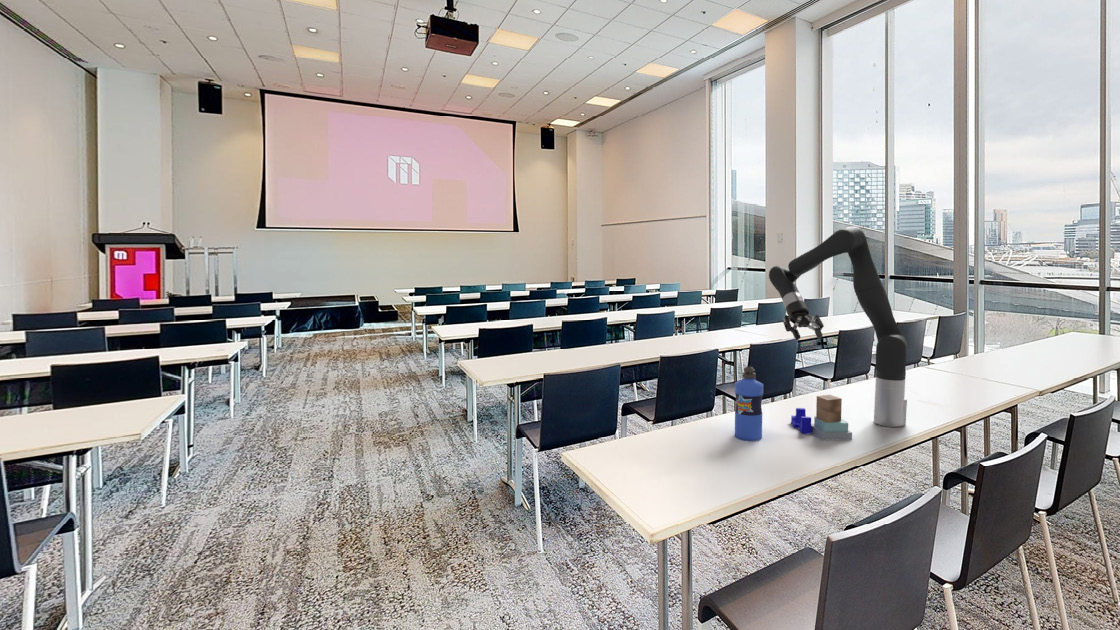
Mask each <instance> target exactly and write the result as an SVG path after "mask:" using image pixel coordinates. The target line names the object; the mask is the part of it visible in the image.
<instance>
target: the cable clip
mask: <svg viewBox="0 0 1120 630" xmlns="http://www.w3.org/2000/svg"><path fill="white" fill-rule="evenodd" d="M806 415H807V414H806V408H805V407H804V408H803V407H795V415H791V419H790V423H791V425H792V426H793V428H794V429H798V430H799V431H800V434H801V435H804V434H805V435H812V432H811V424H812V416H806Z"/></svg>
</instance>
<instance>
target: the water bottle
mask: <svg viewBox="0 0 1120 630" xmlns="http://www.w3.org/2000/svg"><path fill="white" fill-rule="evenodd" d="M755 371H756V370H755V369H754V367H753V366H749V365H748V366H745V367H744V369H743V372H742V379H740V380H737V381H735V382H734V393H735V402H736V404H735V409H734V438H735V439H738V440H741V441H743V442H744V441H746V442H758V441H760V440H762V439H763V409H762V403H763V402H762V401H763V395H764V383H762V382H760V381H758V380H756V378H757V377H756V376H757V373H756V372H755Z"/></svg>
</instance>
